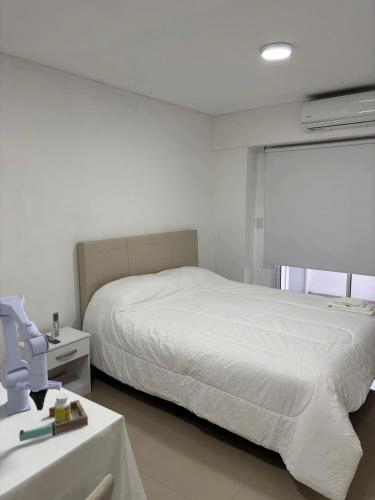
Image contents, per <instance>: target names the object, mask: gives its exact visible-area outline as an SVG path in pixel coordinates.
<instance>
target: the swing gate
mask: <svg viewBox="0 0 375 500" xmlns="http://www.w3.org/2000/svg"><path fill="white" fill-rule="evenodd" d="M51 433H52V423H51V424H47V425H45V426H44V425H43V426H40V427H36V428H32V429H29V430H26V431H25V430H24V429H21V430H19V433H18V434H19V435H18V436H19V442H24V441H28V440H30V439H33V438H38V437H41V436H45V435H47V434H48V435H49V434H51Z"/></svg>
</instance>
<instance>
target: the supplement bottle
mask: <svg viewBox="0 0 375 500" xmlns="http://www.w3.org/2000/svg"><path fill="white" fill-rule="evenodd" d="M55 399H56V400H55V402H54V405H53V407H55V416H54V420H55V421H54V423H55V424H58V423H61V422H65V421H68V420H71V411H70V402H71V401H70V400H69V396H68V394H67V393H59V394H58V395H56V397H55Z"/></svg>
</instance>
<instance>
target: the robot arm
mask: <svg viewBox="0 0 375 500" xmlns="http://www.w3.org/2000/svg"><path fill="white" fill-rule="evenodd" d="M26 305H27V304H26V299H25V296H24V295H23V294H22V293H18V294H13V295H9V296H3V297H0V322H1V323H0V324H1V329H2V336H3V342H4V349H5V355H6V363H5V364H4V365H3V366H2V367H1V369H0V383H1V387H2V388H3V389H4V390H6V396H7V397H6V398H7V401H6V402H5V407H6V411H7V415H9V416H10V415H15V414H17V413H22V412H25V411H29V410H31V409H32V406H31V404H30V400H29V398H31V400H32V401H33V403H34V405H35V408H36V410H37V411H38V412H39V411H43V409H44V406H45V405H44V404H45V399H46V395H47V394H48V391H49V390H57V391H60V390H61V389H62V387H63V386H62V382H61V381H56V380H55V381H54V380H48V362H47V361H48V359H47V352H49V350H50V343H49V339H48V337H47V335H45V334H43V333H41V332H40V331H39V329H38V327H37V325H36V324H35V323H34V322H33V321H31V320H29V318H28V316H27V314H26V311H25V310H26ZM17 326H18V327H17ZM18 335H19V336H20V338H21V340H22V342H23V346H24V347H23V348H24V352H25V356H26V357H25V358H26V360H27V361H26V360H24V359H22V356H21V350H20V349H21V348H20V343H19V336H18ZM29 390H30V391H29ZM28 391H29V392H28Z"/></svg>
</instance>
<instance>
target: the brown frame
mask: <svg viewBox="0 0 375 500" xmlns="http://www.w3.org/2000/svg"><path fill="white" fill-rule="evenodd" d="M79 400H80V399H77V400H73V401H70V412H72V411H77V413H78V415H79V417H76V418H72V419H71V420H68V421H65V422H61V423H58V424H56V423H55V422H52V423H51V429H52V436H56V435H58V434H61V433H64V432H67V431H70V430H74V429H77V428H81V427H83V426H86V425H89V419H88V414H87V413H86V411H85V410H84V409H85V408H84V406H82V404H81V402H80V401H79ZM48 412H49V413H48V414H49V418H51V417H55V407H54V406H52V407H48Z"/></svg>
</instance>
